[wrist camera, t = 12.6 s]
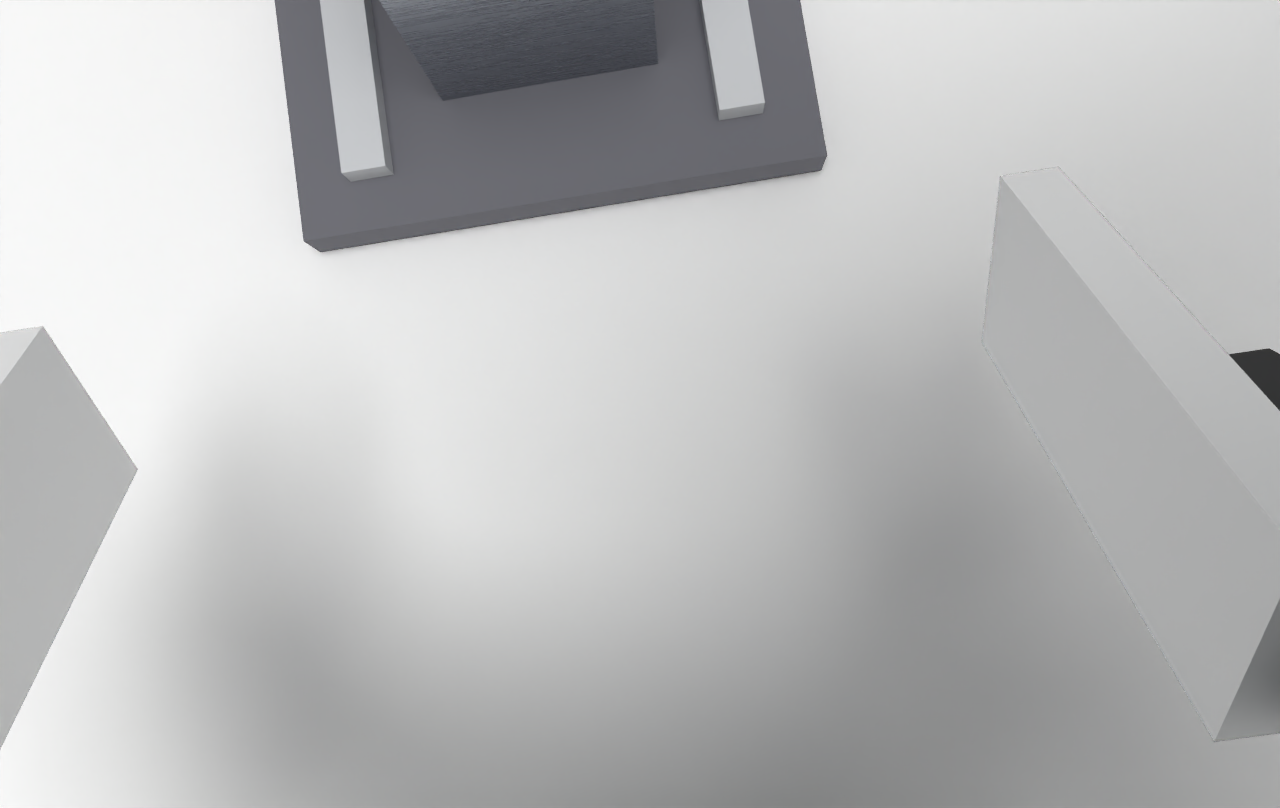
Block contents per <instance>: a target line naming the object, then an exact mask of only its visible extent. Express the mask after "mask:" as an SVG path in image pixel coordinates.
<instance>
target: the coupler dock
mask: <svg viewBox="0 0 1280 808" xmlns="http://www.w3.org/2000/svg"><path fill="white" fill-rule="evenodd" d="M275 6H276V15H277V23H278V31H279V40H280V48H281V56H282V65H283V73H284V81H285V90H286V98H287V106H288V114H289V123H290V131H291V139H292V148H293V156H294V164H295V173H296V181H297V189H298V198H299V206H300V214H301V222H302V231H303V239H304V242H306V243H307V244H309V245H310V246H312V247H314V248H315V249H317V250H318V251H320V252H323V251H329V250H335V249H342V248H348V247H354V246H360V245H366V244H372V243H378V242H384V241H390V240H397V239H403V238H409V237H415V236H421V235H427V234H433V233H439V232H446V231H452V230H458V229H464V228H470V227H476V226H482V225H488V224H494V223H501V222H507V221H513V220H519V219H525V218H531V217H537V216H543V215H550V214H556V213H562V212H568V211H574V210H580V209H586V208H592V207H598V206H605V205H611V204H617V203H623V202H629V201H635V200H641V199H647V198H654V197H660V196H666V195H672V194H678V193H684V192H690V191H696V190H702V189H709V188H715V187H721V186H727V185H733V184H739V183H745V182H751V181H758V180H764V179H770V178H776V177H782V176H788V175H794V174H800V173H806V172H813V171H819V170H821V169H822V166H823V164H824V162H825V159H826V157H827V152H826V146H825V141H824V135H823V129H822V123H821V118H820V112H819V106H818V101H817V95H816V89H815V83H814V78H813V72H812V66H811V60H810V55H809V49H808V43H807V38H806V32H805V26H804V20H803V15H802V9H801V3H800V0H654V12H655V26H656V39H657V53H658V64H654V65H648V66H643V67H637V68H631V69H625V70H619V71H614V72H608V73H602V74H596V75H591V76H585V77H579V78H573V79H567V80H562V81H556V82H550V83H544V84H538V85H533V86H527V87H521V88H515V89H510V90H504V91H498V92H492V93H486V94H481V95H475V96H469V97H463V98H457V99H452V100H446V101H443V100H442V99H441V97H440V96H439V94H438V92H437V91H436V89H435V88H434V86H433V85H432V83H431V81H430V80H429V78H428V77H427V75H426V74H425V72H424V70H423V69H422V67H421V66H420V64H419V63H418V61H417V59H416V58H415V56H414V55H413V53H412V52H411V50H410V48H409V47H408V45H407V44H406V42H405V41H404V39H403V37H402V36H401V34H400V33H399V31H398V30H397V28H396V26H395V25H394V23H393V22H392V20H391V19H390V17H389V15H388V14H387V12H386V11H385V9H384V8H383V6H382V4H381V3H380V1H379V0H275Z"/></svg>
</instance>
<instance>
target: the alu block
mask: <svg viewBox="0 0 1280 808" xmlns="http://www.w3.org/2000/svg"><path fill="white" fill-rule="evenodd" d="M379 1H380V3H381V4H382V6H383V8H384V9H385V11H386V12H387V14H388V15H389V17H390V19H391V20H392V22H393V23H394V25H395V26H396V28H397V30H398V31H399V33H400V34H401V36H402V37H403V39H404V41H405V42H406V44H407V45H408V47H409V48H410V50H411V52H412V53H413V55H414V56H415V58H416V59H417V61H418V63H419V64H420V66H421V67H422V69H423V70H424V72H425V74H426V75H427V77H428V78H429V80H430V81H431V83H432V85H433V86H434V88H435V89H436V91H437V92H438V94H439V96H440V97H441V99H442V100H443V101H446V100H452V99H457V98H463V97H469V96H475V95H481V94H486V93H492V92H498V91H504V90H510V89H515V88H521V87H527V86H533V85H538V84H544V83H550V82H556V81H562V80H567V79H573V78H579V77H585V76H591V75H596V74H602V73H608V72H614V71H619V70H625V69H631V68H637V67H643V66H648V65H654V64H658V53H657V39H656V26H655V12H654V0H379Z"/></svg>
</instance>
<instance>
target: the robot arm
mask: <svg viewBox="0 0 1280 808" xmlns="http://www.w3.org/2000/svg"><path fill="white" fill-rule="evenodd" d="M982 344H983V346H984V347H985V349H986V351H987V352H988V354H989V356H990V358H991V359H992V361H993V363H994V364H995V366H996V368H997V370H998V371H999V373H1000V375H1001V376H1002V378H1003V380H1004V382H1005V383H1006V385H1007V387H1008V388H1009V390H1010V392H1011V394H1012V395H1013V397H1014V399H1015V401H1016V402H1017V404H1018V406H1019V407H1020V409H1021V411H1022V413H1023V414H1024V416H1025V418H1026V419H1027V421H1028V423H1029V425H1030V426H1031V428H1032V430H1033V431H1034V433H1035V435H1036V437H1037V438H1038V440H1039V442H1040V443H1041V445H1042V447H1043V449H1044V450H1045V452H1046V454H1047V455H1048V457H1049V459H1050V461H1051V462H1052V464H1053V466H1054V468H1055V469H1056V471H1057V473H1058V474H1059V476H1060V478H1061V480H1062V481H1063V483H1064V485H1065V486H1066V488H1067V490H1068V492H1069V493H1070V495H1071V497H1072V498H1073V500H1074V502H1075V504H1076V505H1077V507H1078V509H1079V510H1080V512H1081V514H1082V516H1083V517H1084V519H1085V521H1086V523H1087V524H1088V526H1089V528H1090V529H1091V531H1092V533H1093V535H1094V536H1095V538H1096V540H1097V541H1098V543H1099V545H1100V547H1101V548H1102V550H1103V552H1104V553H1105V555H1106V557H1107V559H1108V560H1109V562H1110V564H1111V565H1112V567H1113V569H1114V571H1115V572H1116V574H1117V576H1118V578H1119V579H1120V581H1121V583H1122V584H1123V586H1124V588H1125V590H1126V591H1127V593H1128V595H1129V596H1130V598H1131V600H1132V602H1133V603H1134V605H1135V607H1136V608H1137V610H1138V612H1139V614H1140V615H1141V617H1142V619H1143V620H1144V622H1145V624H1146V626H1147V627H1148V629H1149V631H1150V632H1151V634H1152V636H1153V638H1154V639H1155V641H1156V643H1157V645H1158V646H1159V648H1160V650H1161V651H1162V653H1163V655H1164V657H1165V658H1166V660H1167V662H1168V663H1169V665H1170V667H1171V669H1172V670H1173V672H1174V674H1175V675H1176V677H1177V679H1178V681H1179V682H1180V684H1181V686H1182V687H1183V689H1184V691H1185V693H1186V694H1187V696H1188V698H1189V700H1190V701H1191V703H1192V705H1193V706H1194V708H1195V710H1196V712H1197V713H1198V715H1199V717H1200V718H1201V720H1202V722H1203V724H1204V725H1205V727H1206V729H1207V730H1208V732H1209V734H1210V736H1211V737H1212V739H1213V741H1214V742H1217V741H1225V740H1232V739H1239V738H1247V737H1254V736H1262V735H1269V734H1277V733H1280V354H1278V353H1276V352H1275V351H1273V350H1271V349H1262V350H1255V351H1249V352H1242V353H1235V354H1228V353H1227V352H1226V351H1225V350H1224V349H1223V348H1222V347H1221V346H1220V344H1219V343H1218V342H1217V341H1216V340H1215V339H1214V338H1213V337H1212V336H1211V335H1210V333H1209V332H1208V331H1207V330H1206V329H1205V328H1204V327H1203V326H1202V325H1201V323H1200V322H1199V321H1198V320H1197V319H1196V318H1195V317H1194V316H1193V315H1192V314H1191V312H1190V311H1189V310H1188V309H1187V308H1186V307H1185V306H1184V305H1183V304H1182V303H1181V301H1180V300H1179V299H1178V298H1177V297H1176V296H1175V295H1174V294H1173V293H1172V291H1171V290H1170V289H1169V288H1168V287H1167V286H1166V285H1165V284H1164V283H1163V282H1162V280H1161V279H1160V278H1159V277H1158V276H1157V275H1156V274H1155V273H1154V272H1153V271H1152V269H1151V268H1150V267H1149V266H1148V265H1147V264H1146V263H1145V262H1144V261H1143V259H1142V258H1141V257H1140V256H1139V255H1138V254H1137V253H1136V252H1135V251H1134V250H1133V248H1132V247H1131V246H1130V245H1129V244H1128V243H1127V242H1126V241H1125V240H1124V238H1123V237H1122V236H1121V235H1120V234H1119V233H1118V232H1117V231H1116V230H1115V229H1114V227H1113V226H1112V225H1111V224H1110V223H1109V222H1108V221H1107V220H1106V219H1105V218H1104V216H1103V215H1102V214H1101V213H1100V212H1099V211H1098V210H1097V209H1096V208H1095V206H1094V205H1093V204H1092V203H1091V202H1090V201H1089V200H1088V199H1087V198H1086V197H1085V195H1084V194H1083V193H1082V192H1081V191H1080V190H1079V189H1078V188H1077V187H1076V185H1075V184H1074V183H1073V182H1072V181H1071V180H1070V179H1069V178H1068V177H1067V176H1066V174H1065V173H1064V172H1063V171H1062V170H1061V169H1060V168H1059V167H1054V168H1047V169H1041V170H1034V171H1028V172H1022V173H1015V174H1009V175H1003V176H1000V183H999V192H998V201H997V210H996V219H995V228H994V237H993V246H992V255H991V264H990V273H989V282H988V291H987V299H986V308H985V317H984V326H983V335H982ZM137 470H138V469H137V468H136V466H135V465H134V463H133V462H132V460H131V459H130V457H129V455H128V454H127V452H126V451H125V449H124V448H123V446H122V445H121V443H120V442H119V440H118V439H117V437H116V436H115V434H114V433H113V431H112V430H111V428H110V427H109V425H108V424H107V422H106V421H105V419H104V418H103V416H102V415H101V413H100V412H99V410H98V409H97V407H96V406H95V404H94V403H93V401H92V399H91V398H90V396H89V395H88V393H87V392H86V390H85V389H84V387H83V386H82V384H81V383H80V381H79V380H78V378H77V377H76V375H75V374H74V372H73V371H72V369H71V368H70V366H69V365H68V363H67V362H66V360H65V359H64V357H63V356H62V354H61V353H60V351H59V350H58V348H57V347H56V345H55V344H54V342H53V340H52V339H51V337H50V336H49V334H48V333H47V331H46V330H45V328H44V327H43V326H40V327H34V328H27V329H21V330H14V331H8V332H2V333H0V749H1V747H2V745H3V743H4V741H5V739H6V737H7V735H8V733H9V731H10V728H11V726H12V724H13V722H14V720H15V718H16V716H17V714H18V712H19V710H20V708H21V706H22V704H23V702H24V700H25V698H26V696H27V694H28V692H29V690H30V688H31V686H32V684H33V682H34V680H35V678H36V676H37V673H38V671H39V669H40V667H41V665H42V663H43V661H44V659H45V657H46V655H47V653H48V651H49V649H50V647H51V645H52V643H53V641H54V639H55V637H56V635H57V633H58V631H59V629H60V627H61V625H62V623H63V621H64V618H65V616H66V614H67V612H68V610H69V608H70V606H71V604H72V602H73V600H74V598H75V596H76V594H77V592H78V590H79V588H80V586H81V584H82V582H83V580H84V578H85V576H86V574H87V572H88V570H89V568H90V566H91V563H92V561H93V559H94V557H95V555H96V553H97V551H98V549H99V547H100V545H101V543H102V541H103V539H104V537H105V535H106V533H107V531H108V529H109V527H110V525H111V523H112V521H113V519H114V517H115V515H116V513H117V511H118V508H119V506H120V504H121V502H122V500H123V498H124V496H125V494H126V492H127V490H128V488H129V486H130V484H131V482H132V480H133V478H134V476H135V474H136V472H137Z"/></svg>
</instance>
